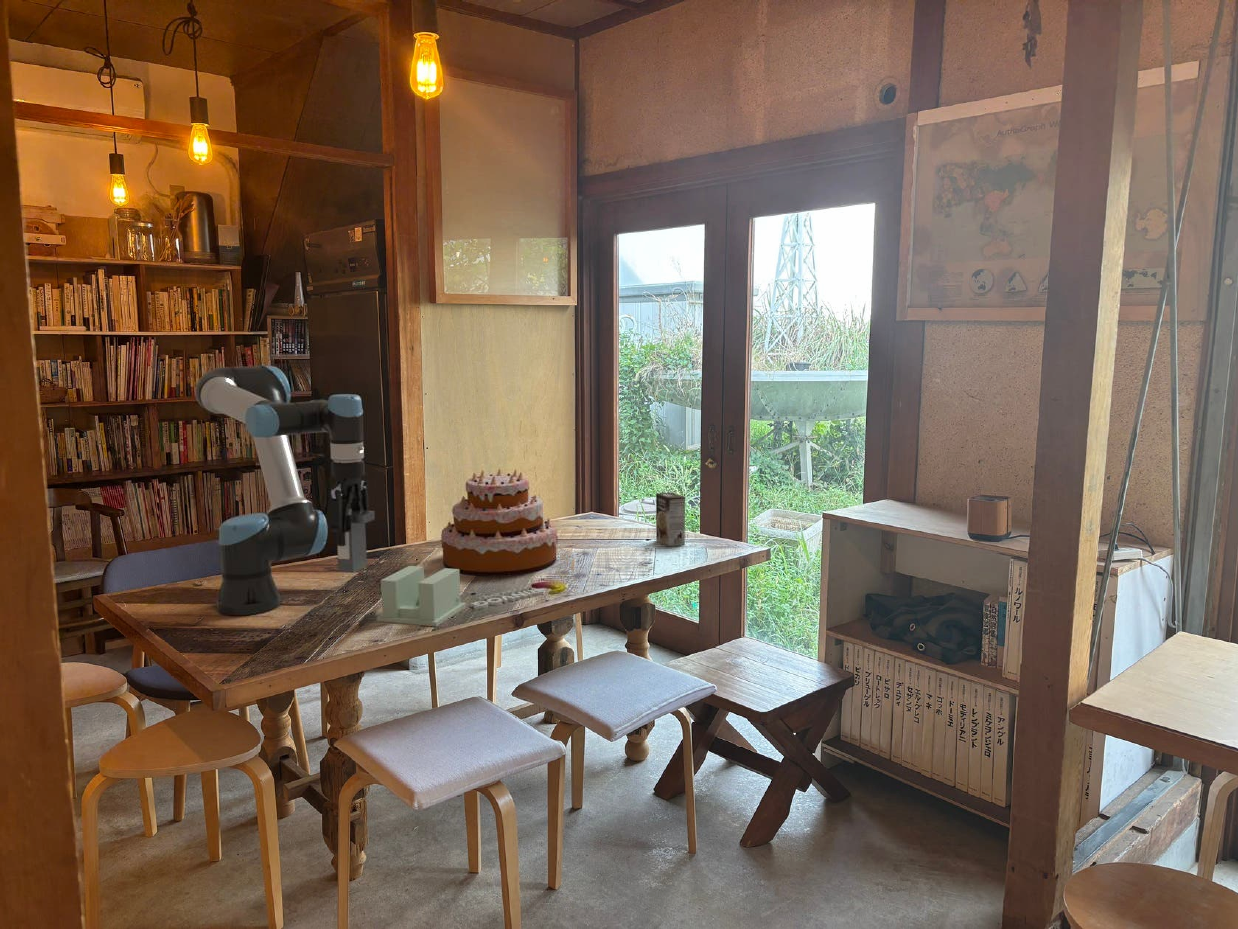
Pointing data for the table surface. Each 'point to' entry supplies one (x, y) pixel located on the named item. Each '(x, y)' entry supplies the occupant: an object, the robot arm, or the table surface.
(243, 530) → the robot arm
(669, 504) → the instant coffee box
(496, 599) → the logo
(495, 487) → the cake
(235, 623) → the table surface
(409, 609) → the green slotted holder
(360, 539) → the stepped grey block
